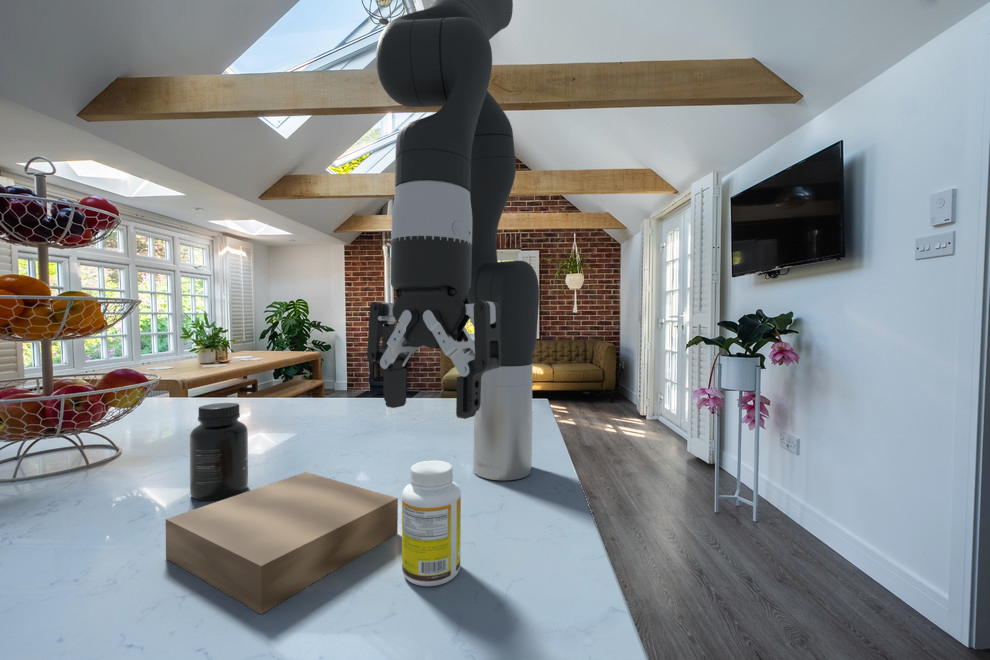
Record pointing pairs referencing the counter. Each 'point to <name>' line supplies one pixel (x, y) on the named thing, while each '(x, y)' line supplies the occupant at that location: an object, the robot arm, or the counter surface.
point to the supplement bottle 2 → (431, 524)
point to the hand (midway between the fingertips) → (429, 411)
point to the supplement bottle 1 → (218, 453)
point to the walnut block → (279, 536)
